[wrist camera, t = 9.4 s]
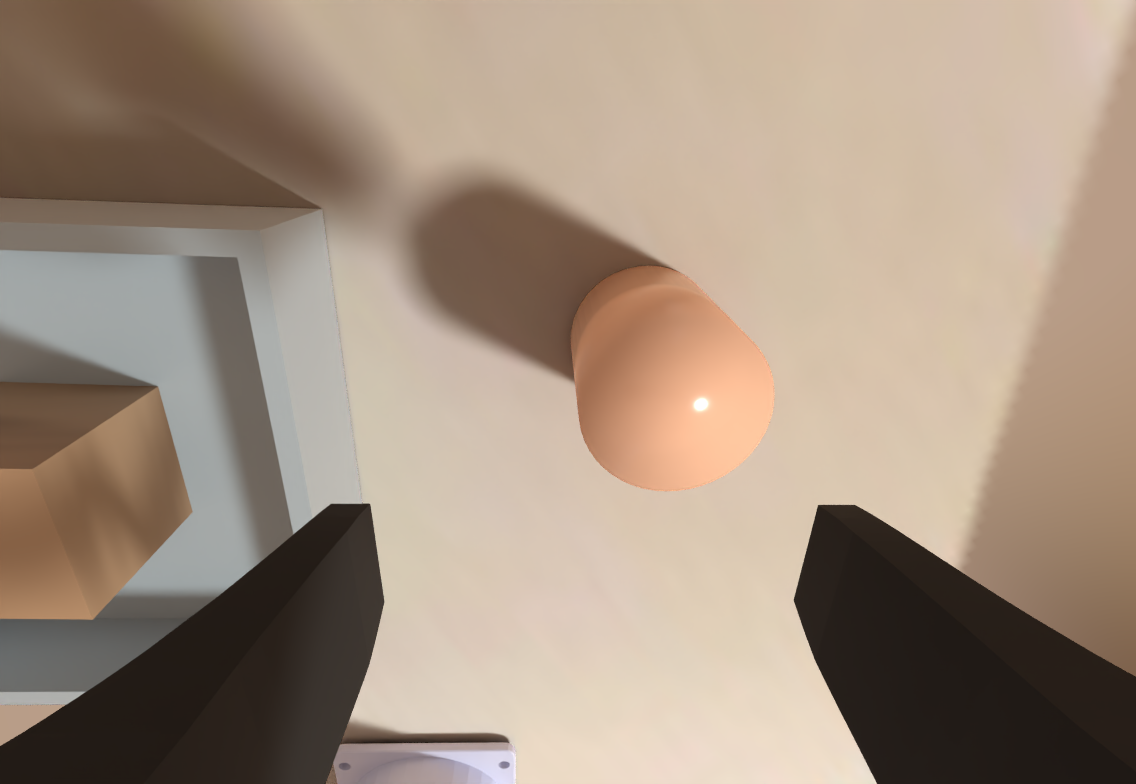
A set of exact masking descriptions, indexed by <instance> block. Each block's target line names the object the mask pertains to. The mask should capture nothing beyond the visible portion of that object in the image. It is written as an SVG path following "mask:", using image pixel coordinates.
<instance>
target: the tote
mask: <svg viewBox="0 0 1136 784" xmlns="http://www.w3.org/2000/svg"><path fill="white" fill-rule="evenodd" d="M0 382H24V383H58V384H92V385H125V386H158V388H159V391H160V395H161V399H162V402H163V406H164V409H165V413H166V417H167V420H168V424H169V428H170V431H171V435H172V438H173V442H174V446H175V449H176V453H177V457H178V460H179V464H180V468H181V471H182V475H183V478H184V482H185V486H186V489H187V493H188V497H189V500H190V504H191V507H192V511H193V512H192V513H191V514H190V516H189V517H188V518H187V519H186V520H185V521H184V522H183V523H182V524H181V525H180V526H179V527H178V528H177V530H176V531H175V532H174V533H173V534H172V535H171V536H170V537H169V538H168V539H167V540H166V541H165V542H164V544H163V545H162V546H161V547H160V548H159V549H158V550H157V551H156V552H155V553H154V554H153V555H152V556H151V558H150V559H149V560H148V561H147V562H146V563H145V564H144V565H143V566H142V567H141V568H140V569H139V570H138V572H137V573H136V574H135V575H134V576H133V577H132V578H131V579H130V580H129V581H128V582H127V583H126V584H125V586H124V587H123V588H122V589H121V590H120V591H119V592H118V593H117V594H116V595H115V596H114V597H113V598H112V600H111V601H110V602H109V603H108V604H107V605H106V606H105V607H104V608H103V609H102V610H101V611H100V612H99V614H98V615H97V616H96V617H95V618H94V619H93V620H86V619H0V705H67V704H68V703H70V702H71V701H73V700H74V699H76V698H77V697H79V696H80V695H82V694H83V693H85V692H86V691H88V690H89V689H91V688H93V687H94V686H96V685H97V684H99V683H100V682H102V681H103V680H104V679H106V678H107V677H109V676H110V675H112V674H113V673H115V672H116V671H118V670H119V669H120V668H122V667H123V666H125V665H126V664H128V663H129V662H130V661H132V660H133V659H135V658H136V657H138V656H139V655H140V654H142V653H143V652H145V651H146V650H147V649H149V648H150V647H151V646H153V645H154V644H155V643H157V642H158V641H159V640H161V639H162V638H163V637H165V636H166V635H167V634H169V633H170V632H171V631H173V630H174V629H175V628H177V627H178V626H179V625H181V624H182V623H183V622H184V621H186V620H187V619H188V618H190V617H191V616H192V615H194V614H195V613H196V612H198V611H199V610H200V609H202V608H203V607H204V606H206V605H207V604H208V603H210V602H211V601H212V600H214V599H215V598H216V597H218V596H219V595H220V594H221V593H223V592H224V591H225V590H227V589H228V588H229V587H230V586H231V585H233V584H234V583H235V582H236V581H238V580H239V579H240V578H241V577H242V576H244V575H245V574H246V573H247V572H249V571H250V570H251V569H252V568H253V567H255V566H256V565H257V564H258V563H260V562H261V561H262V560H263V559H264V558H266V557H267V556H268V555H269V554H271V553H272V552H273V551H274V550H275V549H277V548H278V547H279V546H280V545H281V544H283V543H284V542H285V541H286V540H287V539H288V538H290V537H291V536H292V535H293V534H294V533H296V532H297V531H298V530H299V529H300V528H302V527H303V526H304V525H305V524H306V523H308V522H309V521H310V520H311V519H312V518H314V517H315V516H316V515H317V514H318V513H320V512H321V511H322V510H324V509H325V508H326V507H327V506H329V505H330V504H362V498H361V490H360V483H359V476H358V468H357V461H356V454H355V446H354V439H353V432H352V424H351V417H350V410H349V402H348V395H347V388H346V380H345V373H344V365H343V358H342V351H341V343H340V336H339V329H338V321H337V314H336V307H335V299H334V292H333V285H332V277H331V270H330V262H329V255H328V248H327V240H326V233H325V226H324V218H323V211H322V209H310V208H282V207H253V206H225V205H196V204H168V203H140V202H111V201H83V200H54V199H26V198H0Z"/></svg>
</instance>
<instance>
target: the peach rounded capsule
mask: <svg viewBox="0 0 1136 784" xmlns="http://www.w3.org/2000/svg"><path fill="white" fill-rule="evenodd" d="M571 352H572V361H573V370H574V379H575V387H576V396H577V405H578V414H579V422H580V427H581V432H582V435H583V438H584V441H585V443H586V445H587V447H588V449H589V451H590V452H591V453H592V455H593V456H594V458H595V459H596V460H597V461H598V462H599V464H600V465H601V466H602V467H603V468H604V469H606V470H607V471H608V472H609V473H611V474H612V475H614V476H615V477H617V478H618V479H620V480H622V481H624V482H626V483H629V484H631V485H634V486H637V487H640V488H644V489H649V490H655V491H679V490H686V489H691V488H695V487H699V486H702V485H705V484H707V483H710V482H713V481H715V480H717V479H719V478H720V477H722V476H724V475H726V474H727V473H729V472H730V471H732V470H733V469H735V468H736V467H737V466H738V465H740V464H741V463H742V462H743V461H744V460H745V459H746V458H747V457H748V456H749V455H750V454H751V453H752V452H753V450H754V449H755V448H756V446H757V445H758V444H759V442H760V441H761V439H762V437H763V436H764V434H765V432H766V430H767V427H768V425H769V423H770V419H771V416H772V412H773V406H774V383H773V377H772V374H771V371H770V367H769V365H768V363H767V361H766V359H765V357H764V355H763V353H762V352H761V351H760V349H759V348H758V346H757V345H756V344H755V343H754V342H753V341H752V340H751V339H750V338H749V337H748V336H747V335H746V334H745V333H744V332H743V331H742V330H741V329H740V328H739V327H738V326H737V325H736V324H735V323H734V322H733V321H732V320H731V319H730V318H729V317H728V316H727V315H726V314H725V313H724V312H723V311H722V310H721V309H720V307H719V306H718V305H717V304H716V303H715V302H714V301H713V300H712V299H711V298H710V297H709V296H708V295H707V294H706V293H705V292H704V291H703V290H702V289H701V288H700V287H699V286H698V285H697V284H696V283H695V282H694V281H692V280H691V279H690V278H688V277H687V276H685V275H683V274H681V273H680V272H677V271H675V270H672V269H669V268H665V267H660V266H637V267H631V268H628V269H624V270H621V271H619V272H617V273H614V274H612V275H610V276H609V277H607V278H605V279H604V280H602V281H601V282H600V283H599V284H597V285H596V286H595V287H594V288H593V289H592V290H591V291H590V292H589V293H588V294H587V296H586V297H585V298H584V300H583V301H582V303H581V304H580V306H579V308H578V310H577V312H576V315H575V317H574V320H573V324H572V328H571Z"/></svg>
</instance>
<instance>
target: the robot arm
mask: <svg viewBox="0 0 1136 784" xmlns="http://www.w3.org/2000/svg"><path fill="white" fill-rule="evenodd" d="M794 602H795V605H796V608H797V611H798V614H799V617H800V620H801V623H802V626H803V629H804V632H805V635H806V637H807V640H808V643H809V645H810V648H811V651H812V653H813V656H814V659H815V661H816V663H817V665H818V667H819V669H820V671H821V673H822V676H823V678H824V680H825V682H826V684H827V686H828V688H829V690H830V692H831V694H832V696H833V698H834V700H835V702H836V704H837V706H838V708H839V710H840V712H841V714H842V716H843V718H844V720H845V721H846V723H847V725H848V727H849V729H850V731H851V733H852V735H853V737H854V739H855V741H856V743H857V745H858V747H859V749H860V751H861V753H862V755H863V757H864V759H865V761H866V763H867V765H868V767H869V769H870V771H871V773H872V774H873V776H874V778H875V780H876V782H877V784H1136V677H1135V676H1133V675H1132V674H1130V673H1127V672H1126V671H1124V670H1122V669H1121V668H1119V667H1117V666H1115V665H1113V664H1112V663H1110V662H1108V661H1106V660H1105V659H1103V658H1101V657H1099V656H1097V655H1096V654H1094V653H1092V652H1090V651H1089V650H1087V649H1085V648H1084V647H1082V646H1080V645H1079V644H1077V643H1075V642H1074V641H1072V640H1070V639H1069V638H1067V637H1065V636H1064V635H1062V634H1060V633H1058V632H1057V631H1055V630H1053V629H1052V628H1050V627H1048V626H1047V625H1045V624H1043V623H1042V622H1040V621H1038V620H1037V619H1035V618H1033V617H1032V616H1030V615H1028V614H1027V613H1025V612H1024V611H1022V610H1020V609H1019V608H1017V607H1015V606H1014V605H1012V604H1011V603H1009V602H1007V601H1006V600H1004V599H1002V598H1001V597H999V596H997V595H996V594H995V593H993V592H991V591H990V590H988V589H987V588H985V587H984V586H982V585H981V584H979V583H977V582H976V581H974V580H973V579H971V578H970V577H968V576H967V575H965V574H963V573H962V572H960V571H959V570H957V569H956V568H954V567H953V566H951V565H950V564H948V563H947V562H945V561H943V560H942V559H940V558H939V557H937V556H936V555H934V554H933V553H931V552H930V551H928V550H927V549H925V548H924V547H922V546H921V545H919V544H917V543H916V542H914V541H913V540H911V539H910V538H908V537H907V536H905V535H904V534H902V533H901V532H899V531H897V530H896V529H894V528H893V527H891V526H890V525H888V524H886V523H885V522H883V521H882V520H880V519H878V518H877V517H875V516H873V515H872V514H870V513H868V512H867V511H865V510H863V509H861V508H859V507H858V506H856V505H818V508H817V512H816V516H815V520H814V524H813V527H812V531H811V535H810V539H809V543H808V547H807V551H806V555H805V558H804V562H803V566H802V570H801V574H800V578H799V582H798V586H797V589H796V593H795V597H794ZM383 605H384V596H383V589H382V582H381V575H380V568H379V561H378V555H377V548H376V541H375V534H374V527H373V520H372V513H371V506H370V504H330V505H329V506H327V507H326V508H325V509H324V510H322V511H321V512H320V513H318V514H317V515H316V516H315V517H314V518H312V519H311V520H310V521H309V522H308V523H306V524H305V525H304V526H303V527H302V528H300V529H299V530H298V531H297V532H296V533H294V534H293V535H292V536H291V537H290V538H288V539H287V540H286V541H285V542H284V543H283V544H281V545H280V546H279V547H278V548H277V549H275V550H274V551H273V552H272V553H271V554H269V555H268V556H267V557H266V558H264V559H263V560H262V561H261V562H260V563H258V564H257V565H256V566H255V567H253V568H252V569H251V570H250V571H249V572H247V573H246V574H245V575H244V576H242V577H241V578H240V579H239V580H238V581H236V582H235V583H234V584H233V585H231V586H230V587H229V588H228V589H227V590H225V591H224V592H223V593H221V594H220V595H219V596H218V597H216V598H215V599H214V600H212V601H211V602H210V603H208V604H207V605H206V606H204V607H203V608H202V609H200V610H199V611H198V612H196V613H195V614H194V615H192V616H191V617H190V618H188V619H187V620H186V621H184V622H183V623H182V624H181V625H179V626H178V627H177V628H175V629H174V630H173V631H171V632H170V633H169V634H167V635H166V636H165V637H163V638H162V639H161V640H159V641H158V642H157V643H155V644H154V645H153V646H151V647H150V648H149V649H147V650H146V651H145V652H143V653H142V654H140V655H139V656H138V657H136V658H135V659H133V660H132V661H130V662H129V663H128V664H126V665H125V666H123V667H122V668H120V669H119V670H118V671H116V672H115V673H113V674H112V675H110V676H109V677H107V678H106V679H104V680H103V681H102V682H100V683H99V684H97V685H96V686H94V687H93V688H91V689H89V690H88V691H86V692H85V693H83V694H82V695H80V696H79V697H77V698H76V699H74V700H73V701H71V702H70V703H68V704H67V705H65V706H64V707H62V708H61V709H59V710H58V711H56V712H55V713H53V714H51V715H50V716H48V717H47V718H46V719H44V720H42V721H41V722H39V723H37V724H36V725H34V726H33V727H31V728H29V729H28V730H26V731H25V732H23V733H22V734H20V735H18V736H16V737H15V738H13V739H11V740H10V741H8V742H6V743H5V744H3V745H1V746H0V784H325V783H326V781H327V778H328V775H329V773H330V770H331V767H332V765H333V766H334V770H335V775H336V780H337V784H516V750H515V747H514V746H513V745H512V744H510V743H505V742H492V743H371V744H340V743H341V740H342V738H343V735H344V732H345V730H346V727H347V724H348V722H349V719H350V716H351V713H352V711H353V708H354V705H355V703H356V700H357V697H358V694H359V692H360V689H361V686H362V683H363V681H364V678H365V675H366V672H367V669H368V667H369V664H370V660H371V656H372V652H373V648H374V644H375V640H376V636H377V632H378V627H379V623H380V619H381V614H382V610H383Z"/></svg>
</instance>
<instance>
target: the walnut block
mask: <svg viewBox="0 0 1136 784" xmlns="http://www.w3.org/2000/svg"><path fill="white" fill-rule="evenodd" d="M192 512H193V511H192V507H191V504H190V500H189V497H188V493H187V489H186V486H185V482H184V478H183V475H182V471H181V468H180V464H179V460H178V457H177V453H176V449H175V446H174V442H173V438H172V435H171V431H170V428H169V424H168V420H167V417H166V413H165V409H164V406H163V402H162V399H161V395H160V391H159V388H158V386H125V385H92V384H58V383H24V382H0V619H86V620H93V619H94V618H95V617H96V616H97V615H98V614H99V612H100V611H101V610H102V609H103V608H104V607H105V606H106V605H107V604H108V603H109V602H110V601H111V600H112V598H113V597H114V596H115V595H116V594H117V593H118V592H119V591H120V590H121V589H122V588H123V587H124V586H125V584H126V583H127V582H128V581H129V580H130V579H131V578H132V577H133V576H134V575H135V574H136V573H137V572H138V570H139V569H140V568H141V567H142V566H143V565H144V564H145V563H146V562H147V561H148V560H149V559H150V558H151V556H152V555H153V554H154V553H155V552H156V551H157V550H158V549H159V548H160V547H161V546H162V545H163V544H164V542H165V541H166V540H167V539H168V538H169V537H170V536H171V535H172V534H173V533H174V532H175V531H176V530H177V528H178V527H179V526H180V525H181V524H182V523H183V522H184V521H185V520H186V519H187V518H188V517H189V516H190V514H191V513H192Z"/></svg>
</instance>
